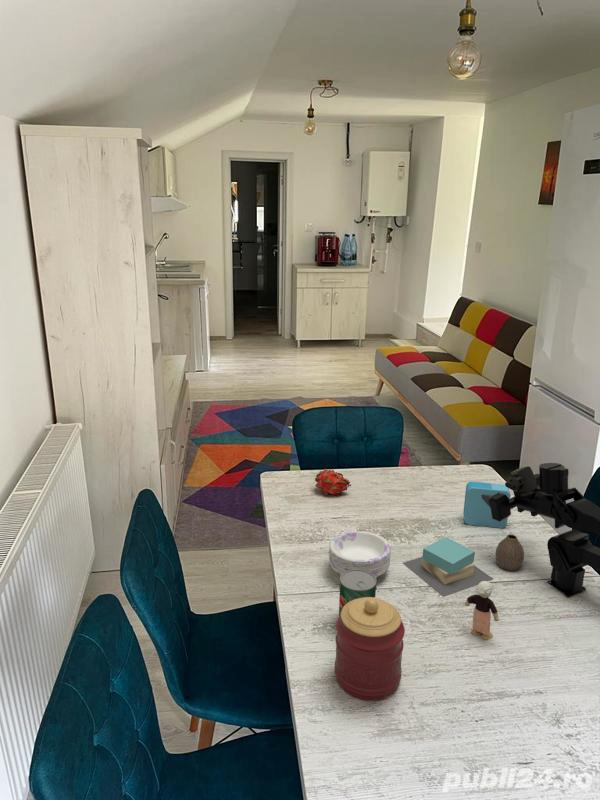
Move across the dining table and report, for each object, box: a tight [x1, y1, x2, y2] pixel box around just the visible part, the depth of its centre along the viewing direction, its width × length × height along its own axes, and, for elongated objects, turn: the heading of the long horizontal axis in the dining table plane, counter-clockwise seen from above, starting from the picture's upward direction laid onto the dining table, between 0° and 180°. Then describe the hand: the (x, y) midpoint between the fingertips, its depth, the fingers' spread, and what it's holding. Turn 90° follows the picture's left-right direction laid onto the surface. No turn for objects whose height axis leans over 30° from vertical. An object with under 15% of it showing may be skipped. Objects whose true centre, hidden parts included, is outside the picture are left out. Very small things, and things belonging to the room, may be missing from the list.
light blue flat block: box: [462, 481, 512, 529], centre depth 176 cm, size 12×4×12 cm, turn 79°
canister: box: [334, 597, 406, 701], centre depth 116 cm, size 13×13×18 cm
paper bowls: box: [328, 530, 392, 579], centre depth 152 cm, size 15×15×8 cm
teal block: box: [421, 536, 476, 575], centre depth 152 cm, size 9×9×3 cm
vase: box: [494, 533, 525, 571], centre depth 155 cm, size 7×7×9 cm
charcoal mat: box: [402, 556, 494, 598], centre depth 153 cm, size 16×16×1 cm
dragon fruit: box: [314, 468, 352, 497], centre depth 195 cm, size 8×8×12 cm
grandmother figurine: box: [464, 581, 500, 641], centre depth 130 cm, size 8×4×13 cm, turn 59°
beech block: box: [421, 555, 475, 585], centre depth 153 cm, size 9×9×3 cm
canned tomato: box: [338, 569, 377, 616], centre depth 133 cm, size 8×8×11 cm
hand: (493, 490), depth 164 cm, fingers open, 9 cm apart
